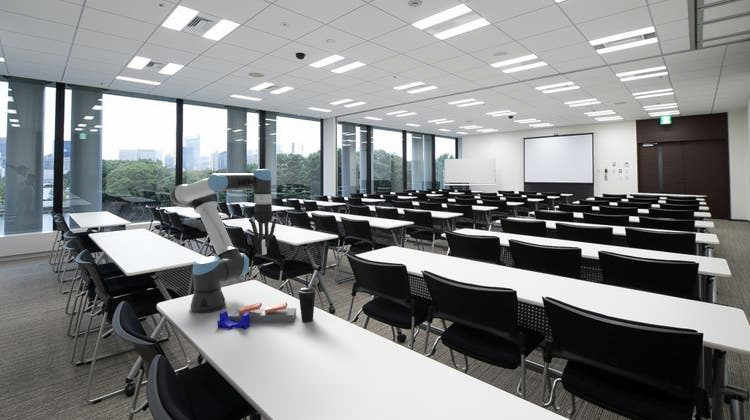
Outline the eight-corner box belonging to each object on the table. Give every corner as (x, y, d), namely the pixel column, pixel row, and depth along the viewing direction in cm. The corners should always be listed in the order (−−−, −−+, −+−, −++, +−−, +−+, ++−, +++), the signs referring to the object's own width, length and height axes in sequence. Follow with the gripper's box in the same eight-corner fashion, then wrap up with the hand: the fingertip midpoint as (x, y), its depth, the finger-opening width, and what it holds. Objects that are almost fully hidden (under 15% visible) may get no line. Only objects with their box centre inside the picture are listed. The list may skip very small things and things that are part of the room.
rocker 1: (239, 314, 154) (238, 311, 154) (242, 310, 159) (241, 307, 158) (259, 308, 155) (258, 305, 154) (262, 305, 159) (261, 302, 159)
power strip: (219, 324, 152) (218, 316, 152) (225, 316, 160) (225, 309, 160) (293, 322, 154) (293, 315, 154) (296, 314, 162) (295, 307, 162)
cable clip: (217, 328, 149) (217, 314, 148) (224, 323, 153) (223, 310, 152) (243, 331, 146) (243, 317, 145) (249, 326, 150) (249, 312, 150)
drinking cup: (318, 317, 160) (317, 273, 158) (313, 324, 153) (313, 278, 151) (301, 316, 161) (300, 272, 159) (296, 323, 154) (295, 277, 151)
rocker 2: (265, 313, 155) (264, 310, 155) (267, 309, 159) (266, 306, 159) (285, 308, 155) (285, 305, 155) (287, 305, 160) (286, 301, 160)
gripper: (246, 203, 159) (247, 256, 162) (276, 204, 160) (277, 255, 163) (250, 202, 167) (252, 252, 169) (279, 202, 168) (280, 252, 170)
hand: (264, 254), depth 166 cm, fingers closed
